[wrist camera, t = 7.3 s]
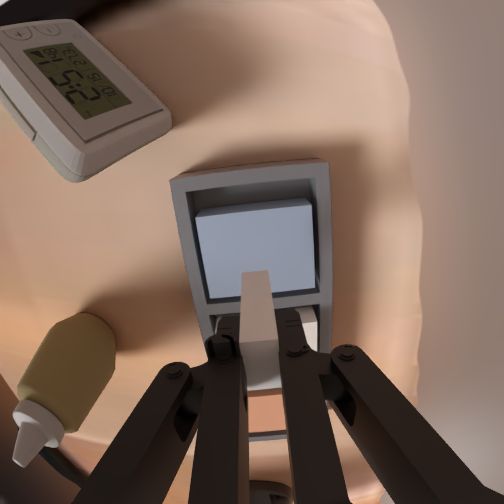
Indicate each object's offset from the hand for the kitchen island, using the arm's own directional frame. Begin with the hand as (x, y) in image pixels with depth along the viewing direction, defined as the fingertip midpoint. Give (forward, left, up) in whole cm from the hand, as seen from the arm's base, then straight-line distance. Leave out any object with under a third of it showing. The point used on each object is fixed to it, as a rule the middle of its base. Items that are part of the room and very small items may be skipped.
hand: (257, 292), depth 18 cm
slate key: (+1, 0, -7) cm, 7 cm away
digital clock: (+16, +11, -9) cm, 21 cm away
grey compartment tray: (-8, 0, -9) cm, 12 cm away
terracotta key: (-17, 0, -7) cm, 19 cm away
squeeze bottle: (-8, +19, -9) cm, 22 cm away
